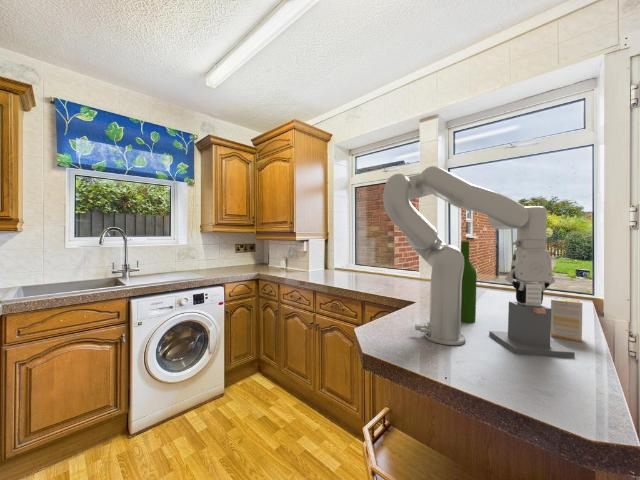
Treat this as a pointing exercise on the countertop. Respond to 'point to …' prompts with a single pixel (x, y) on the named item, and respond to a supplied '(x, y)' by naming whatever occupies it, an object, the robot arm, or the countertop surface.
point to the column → (532, 294)
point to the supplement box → (566, 319)
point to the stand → (530, 332)
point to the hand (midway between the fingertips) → (529, 302)
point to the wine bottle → (468, 287)
